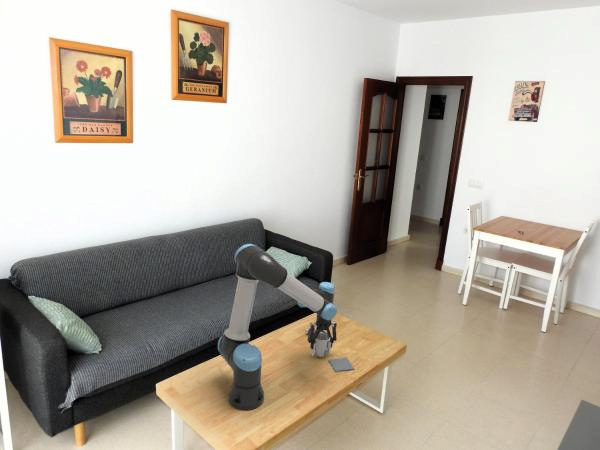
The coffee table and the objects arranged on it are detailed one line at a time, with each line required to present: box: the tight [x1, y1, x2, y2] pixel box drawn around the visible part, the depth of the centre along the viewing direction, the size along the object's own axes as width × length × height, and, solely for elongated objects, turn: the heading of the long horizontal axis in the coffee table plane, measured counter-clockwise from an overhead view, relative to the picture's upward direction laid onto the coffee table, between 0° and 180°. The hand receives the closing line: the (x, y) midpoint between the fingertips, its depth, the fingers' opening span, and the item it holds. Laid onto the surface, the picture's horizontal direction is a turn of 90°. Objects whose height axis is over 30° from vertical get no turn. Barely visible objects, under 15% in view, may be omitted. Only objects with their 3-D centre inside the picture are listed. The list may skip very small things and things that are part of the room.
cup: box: [315, 332, 330, 358], centre depth 224 cm, size 8×8×10 cm
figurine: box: [304, 327, 327, 337], centre depth 242 cm, size 9×4×15 cm
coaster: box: [328, 357, 355, 373], centre depth 218 cm, size 10×10×1 cm
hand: (320, 353), depth 225 cm, fingers closed on cup, 8 cm apart
